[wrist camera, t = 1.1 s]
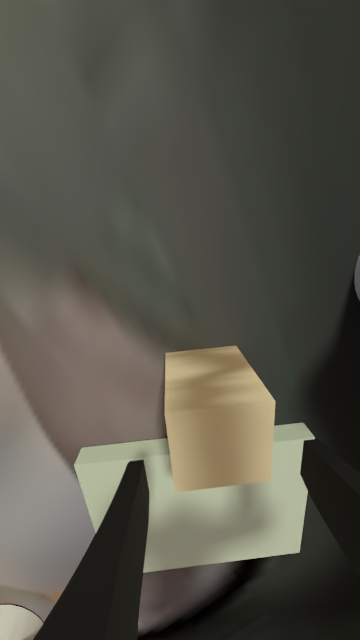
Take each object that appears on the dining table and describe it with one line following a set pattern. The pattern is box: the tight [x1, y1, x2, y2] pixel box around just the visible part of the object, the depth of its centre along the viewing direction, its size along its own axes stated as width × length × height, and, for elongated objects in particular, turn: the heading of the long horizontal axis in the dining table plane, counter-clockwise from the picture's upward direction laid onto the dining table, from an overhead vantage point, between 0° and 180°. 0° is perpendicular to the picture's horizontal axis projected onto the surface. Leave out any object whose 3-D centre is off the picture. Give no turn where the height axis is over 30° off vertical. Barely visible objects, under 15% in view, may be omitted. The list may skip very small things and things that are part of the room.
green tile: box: [74, 423, 315, 573], centre depth 19 cm, size 18×14×2 cm
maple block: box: [165, 346, 275, 492], centre depth 13 cm, size 5×5×6 cm
